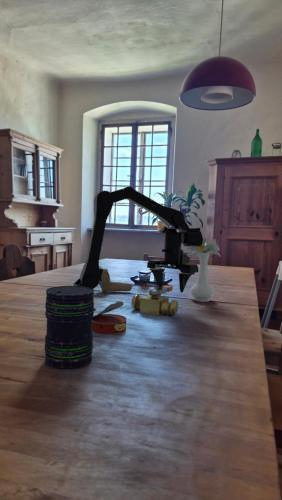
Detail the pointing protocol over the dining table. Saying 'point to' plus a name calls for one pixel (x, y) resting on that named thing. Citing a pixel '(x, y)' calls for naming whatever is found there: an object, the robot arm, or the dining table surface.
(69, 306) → the storage jar
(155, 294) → the lever
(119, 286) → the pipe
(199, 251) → the flower vase
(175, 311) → the valve
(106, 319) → the canned food
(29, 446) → the dining table surface
